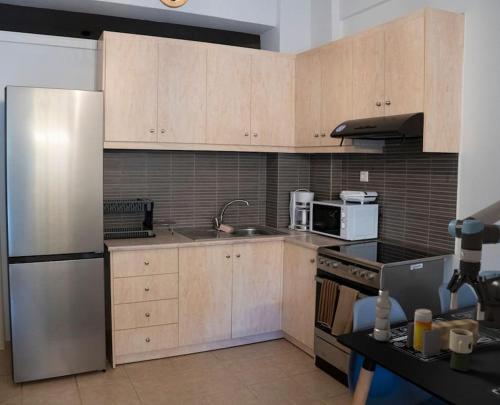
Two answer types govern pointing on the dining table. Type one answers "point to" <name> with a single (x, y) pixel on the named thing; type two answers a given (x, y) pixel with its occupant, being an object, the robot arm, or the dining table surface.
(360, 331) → the dining table surface
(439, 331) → the chute
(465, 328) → the tan wooden block
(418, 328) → the beer can
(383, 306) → the plastic bottle
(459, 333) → the character mug
